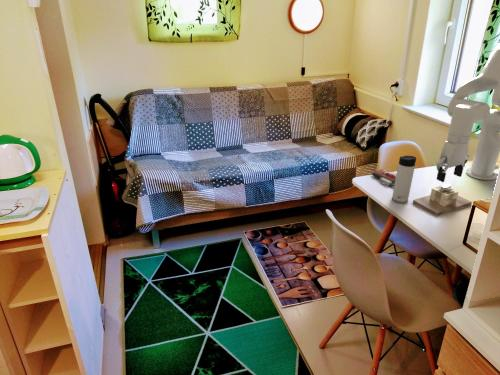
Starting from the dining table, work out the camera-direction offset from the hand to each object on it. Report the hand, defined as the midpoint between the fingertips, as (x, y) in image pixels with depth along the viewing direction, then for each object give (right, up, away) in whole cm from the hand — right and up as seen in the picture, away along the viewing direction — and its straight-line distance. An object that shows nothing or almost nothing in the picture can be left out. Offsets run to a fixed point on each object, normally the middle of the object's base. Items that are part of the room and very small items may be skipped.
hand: (448, 178), depth 153 cm
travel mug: (-16, -9, +8) cm, 21 cm away
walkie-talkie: (-14, -2, +24) cm, 28 cm away
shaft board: (0, -11, +5) cm, 12 cm away
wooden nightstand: (0, -9, +4) cm, 10 cm away
